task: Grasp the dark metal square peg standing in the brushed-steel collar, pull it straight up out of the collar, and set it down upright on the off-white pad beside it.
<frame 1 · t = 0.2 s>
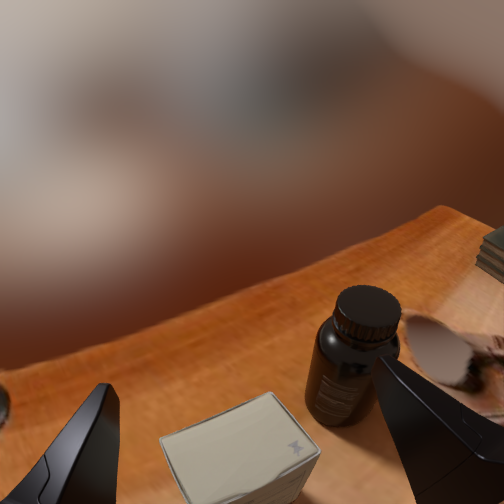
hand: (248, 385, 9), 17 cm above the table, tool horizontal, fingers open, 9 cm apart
skincare box: (247, 498, 17), on the table
supplement bottle: (338, 400, 25), on the table
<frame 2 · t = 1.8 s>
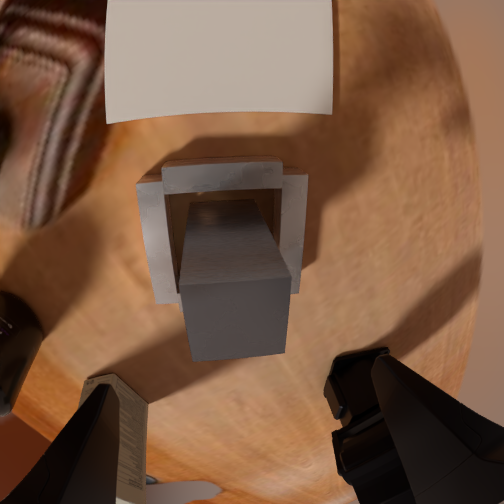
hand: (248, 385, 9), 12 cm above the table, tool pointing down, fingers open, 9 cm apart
skincare box: (118, 391, 26), on the table
supplement bottle: (15, 318, 20), on the table
steel collar: (223, 230, 19), on the table
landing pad: (219, 11, 13), on the table
metal peg: (228, 265, 15), in the steel collar
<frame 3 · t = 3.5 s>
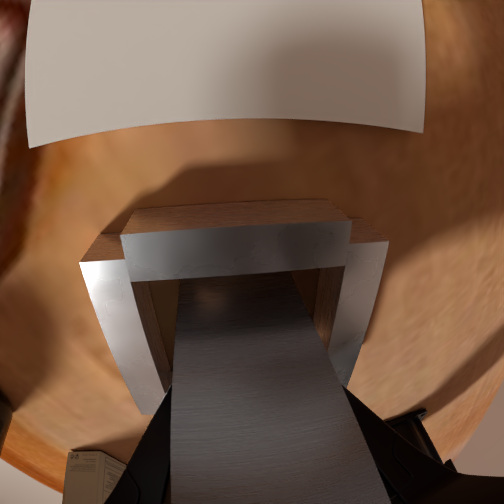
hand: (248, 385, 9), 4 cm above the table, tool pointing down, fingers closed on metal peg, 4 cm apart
skincare box: (108, 462, 18), on the table
steel collar: (237, 316, 12), on the table
metal peg: (253, 409, 8), in the steel collar, touching gripper
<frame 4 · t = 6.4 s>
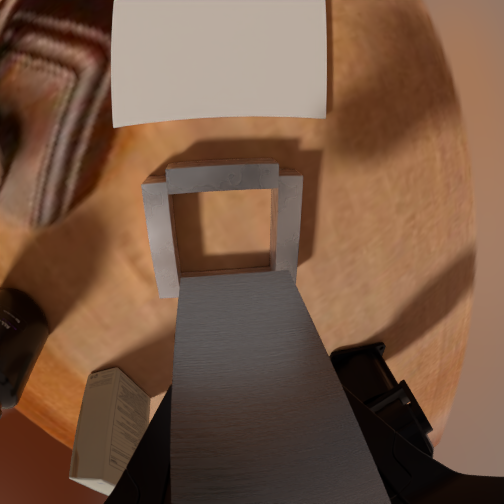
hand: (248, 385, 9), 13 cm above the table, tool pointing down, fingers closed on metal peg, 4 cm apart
skincare box: (121, 386, 27), on the table
supplement bottle: (22, 313, 21), on the table
steel collar: (223, 228, 20), on the table
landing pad: (219, 20, 14), on the table
metal peg: (253, 409, 8), point 14 cm above the table, touching gripper
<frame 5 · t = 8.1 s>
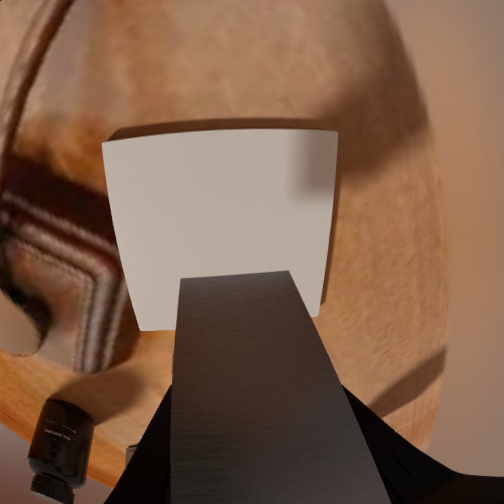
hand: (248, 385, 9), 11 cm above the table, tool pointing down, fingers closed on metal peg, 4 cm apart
supplement bottle: (68, 413, 26), on the table
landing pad: (224, 236, 18), on the table
metal peg: (253, 410, 8), point 12 cm above the table, touching gripper
when the fingers open (6 cm above the table, at t = 9.4 s): metal peg drops 2 cm, resting on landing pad.
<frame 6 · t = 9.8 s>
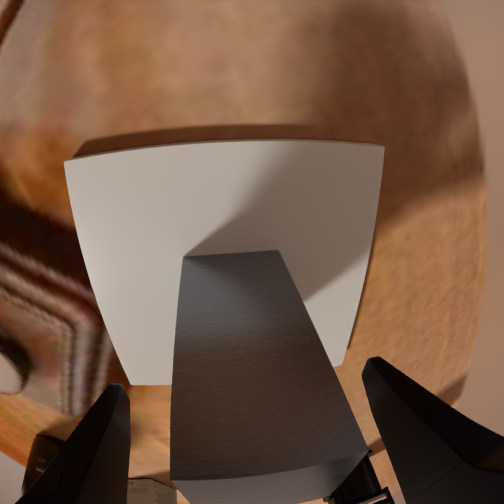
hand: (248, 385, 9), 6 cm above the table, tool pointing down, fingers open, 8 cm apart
skincare box: (151, 484, 27), on the table
supplement bottle: (61, 447, 22), on the table
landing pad: (231, 282, 14), on the table
metal peg: (245, 370, 9), on the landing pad, point 5 cm above the table
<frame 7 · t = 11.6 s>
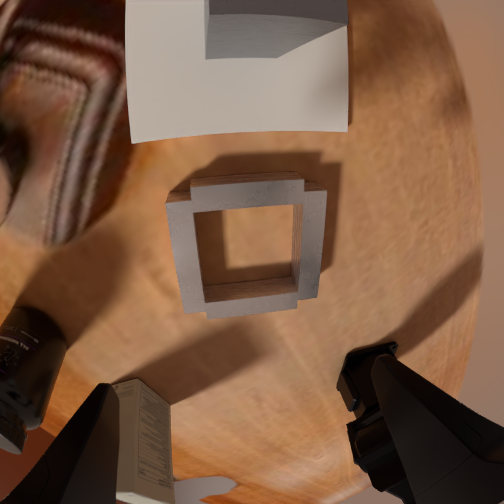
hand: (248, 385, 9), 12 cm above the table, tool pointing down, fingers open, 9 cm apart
skincare box: (140, 395, 27), on the table
supplement bottle: (37, 330, 21), on the table
steel collar: (246, 242, 20), on the table
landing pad: (239, 29, 14), on the table
metal peg: (253, 3, 9), on the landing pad, point 5 cm above the table
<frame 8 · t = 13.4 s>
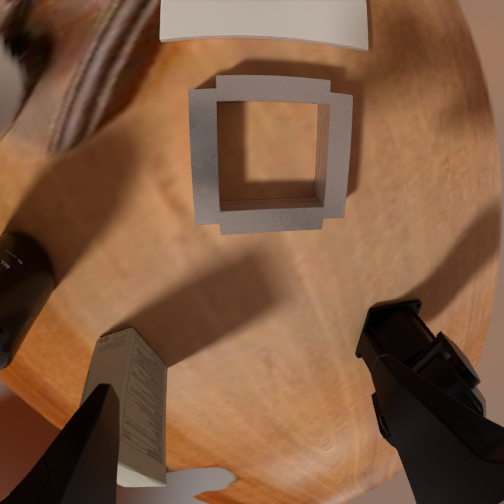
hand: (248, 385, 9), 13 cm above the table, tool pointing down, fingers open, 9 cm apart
skincare box: (134, 353, 25), on the table
supplement bottle: (25, 264, 19), on the table
steel collar: (268, 151, 18), on the table
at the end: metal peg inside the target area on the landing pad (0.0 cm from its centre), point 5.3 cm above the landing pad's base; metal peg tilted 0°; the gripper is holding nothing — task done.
